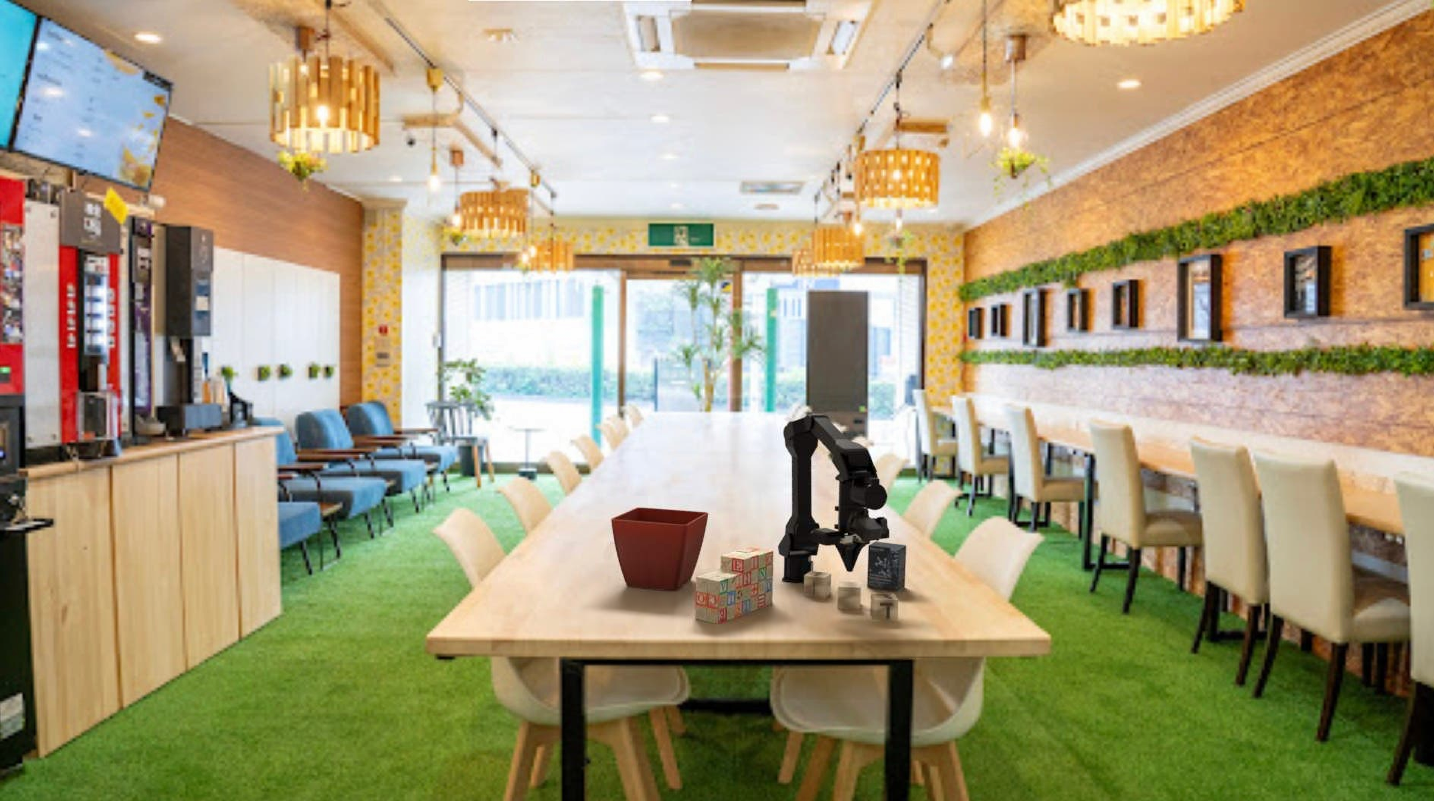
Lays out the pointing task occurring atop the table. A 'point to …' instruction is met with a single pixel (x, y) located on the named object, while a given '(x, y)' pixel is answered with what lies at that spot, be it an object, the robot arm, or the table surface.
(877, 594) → the letter t cube
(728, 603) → the stack of blocks
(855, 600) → the plain maple cube
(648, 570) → the plant pot
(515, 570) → the table surface
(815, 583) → the numeral cube one
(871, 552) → the box
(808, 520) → the robot arm
